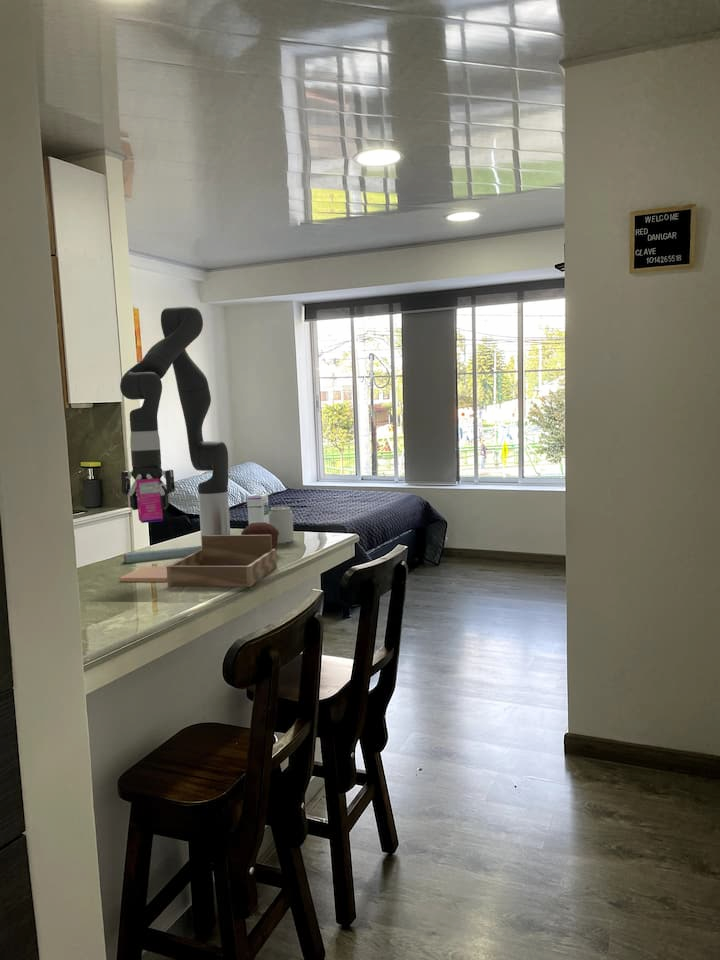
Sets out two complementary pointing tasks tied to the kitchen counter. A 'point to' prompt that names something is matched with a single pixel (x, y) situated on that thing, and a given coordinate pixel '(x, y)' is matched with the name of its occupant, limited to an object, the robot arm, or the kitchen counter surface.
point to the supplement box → (148, 500)
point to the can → (282, 523)
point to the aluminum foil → (160, 554)
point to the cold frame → (225, 562)
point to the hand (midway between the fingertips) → (149, 509)
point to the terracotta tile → (146, 575)
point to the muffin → (262, 531)
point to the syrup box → (258, 508)
